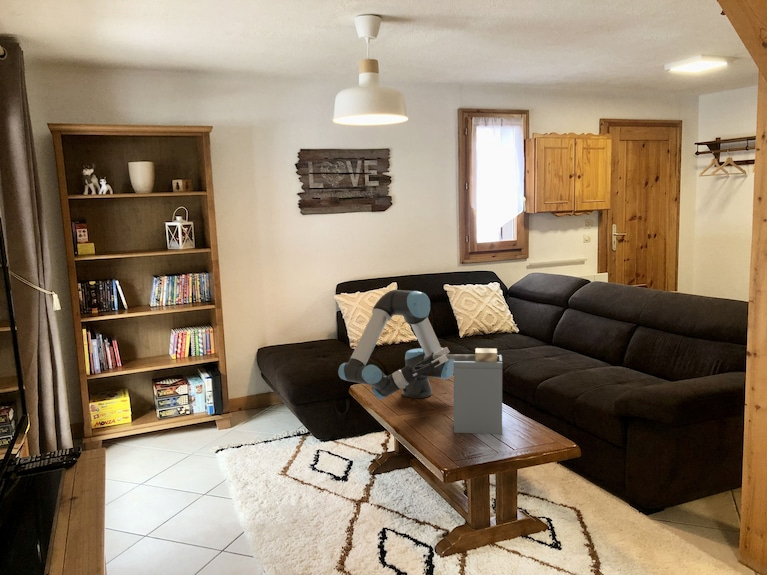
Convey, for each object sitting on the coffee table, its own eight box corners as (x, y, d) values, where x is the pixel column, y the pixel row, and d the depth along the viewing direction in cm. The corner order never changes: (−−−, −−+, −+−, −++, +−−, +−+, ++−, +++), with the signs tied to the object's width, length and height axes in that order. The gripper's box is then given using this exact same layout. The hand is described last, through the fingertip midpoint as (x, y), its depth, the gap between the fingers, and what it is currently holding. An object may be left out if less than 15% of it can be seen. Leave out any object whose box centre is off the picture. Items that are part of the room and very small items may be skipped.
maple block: (432, 365, 261) (432, 352, 261) (433, 361, 269) (433, 347, 268) (497, 367, 257) (497, 353, 256) (496, 362, 265) (496, 348, 264)
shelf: (453, 432, 261) (453, 361, 257) (455, 420, 275) (454, 353, 270) (502, 434, 258) (502, 362, 253) (500, 422, 271) (501, 353, 267)
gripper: (412, 375, 280) (453, 353, 276) (406, 392, 256) (450, 368, 252) (404, 361, 280) (444, 339, 276) (396, 377, 256) (441, 352, 251)
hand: (447, 353), depth 264 cm, fingers open, 13 cm apart
